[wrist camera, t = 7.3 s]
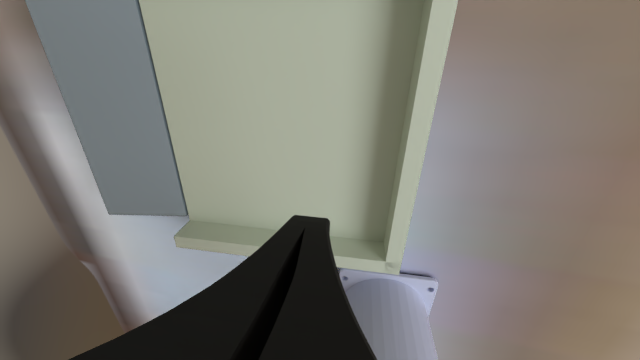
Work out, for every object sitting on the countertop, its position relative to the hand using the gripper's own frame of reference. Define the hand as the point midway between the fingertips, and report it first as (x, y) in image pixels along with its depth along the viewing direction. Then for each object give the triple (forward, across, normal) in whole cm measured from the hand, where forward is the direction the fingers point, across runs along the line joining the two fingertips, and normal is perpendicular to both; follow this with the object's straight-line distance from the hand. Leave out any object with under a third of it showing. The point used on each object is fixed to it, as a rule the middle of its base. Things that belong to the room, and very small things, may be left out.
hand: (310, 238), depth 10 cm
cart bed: (+9, +3, -2) cm, 10 cm away
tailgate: (+8, +11, -2) cm, 14 cm away
